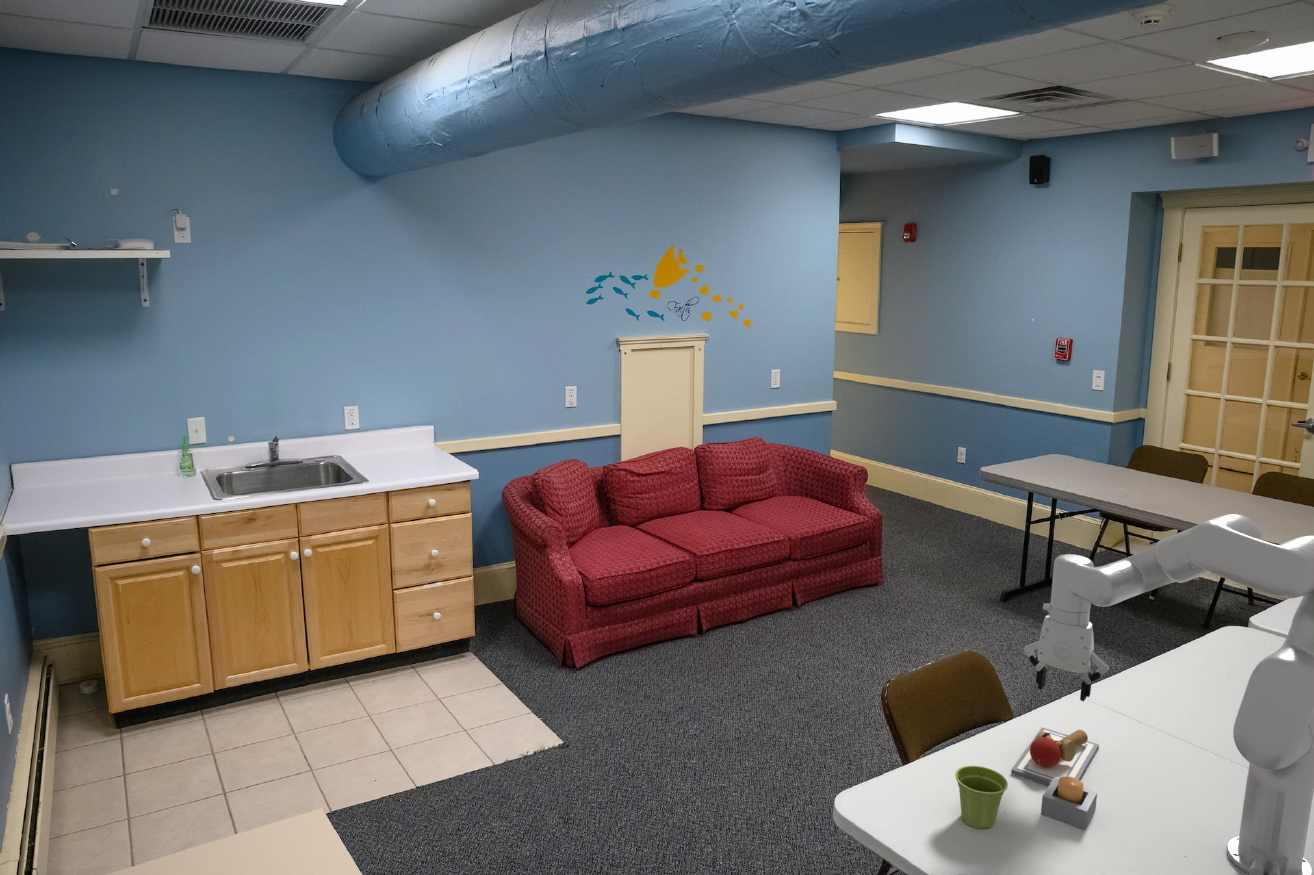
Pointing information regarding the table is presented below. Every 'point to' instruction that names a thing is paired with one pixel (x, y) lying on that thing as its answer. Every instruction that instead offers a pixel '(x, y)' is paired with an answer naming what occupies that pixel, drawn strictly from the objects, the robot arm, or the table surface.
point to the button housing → (1068, 807)
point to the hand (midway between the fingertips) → (1062, 692)
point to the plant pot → (980, 794)
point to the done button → (1070, 789)
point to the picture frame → (1062, 768)
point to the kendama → (1055, 748)
